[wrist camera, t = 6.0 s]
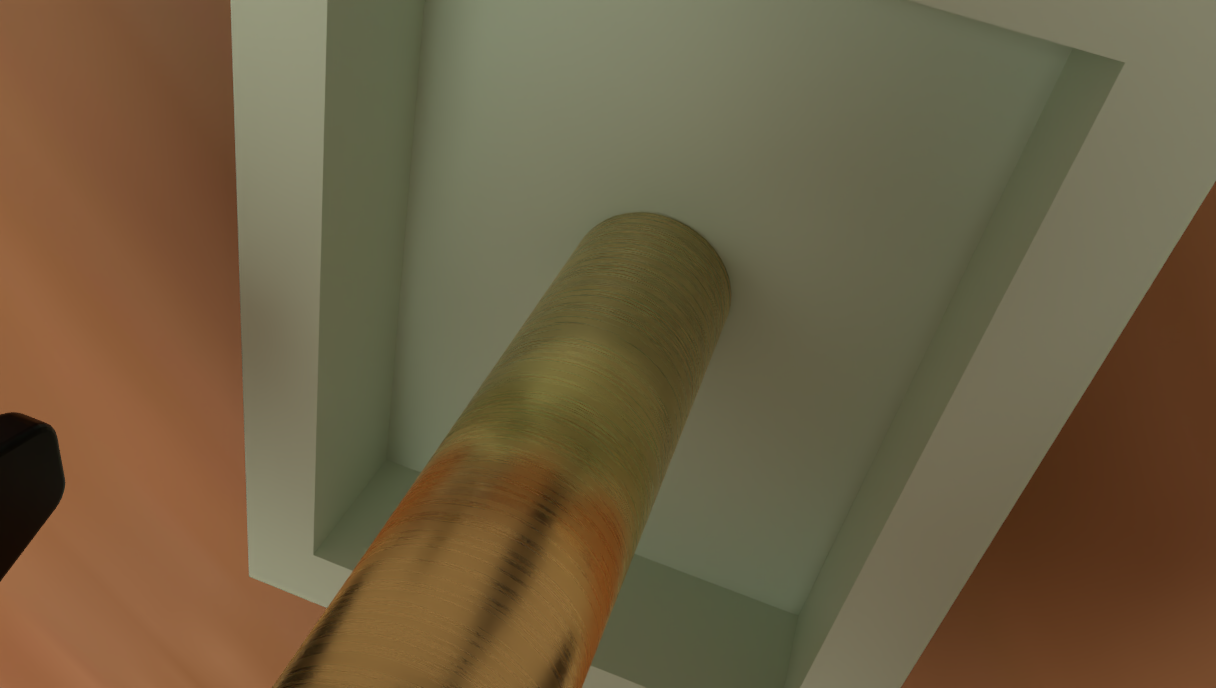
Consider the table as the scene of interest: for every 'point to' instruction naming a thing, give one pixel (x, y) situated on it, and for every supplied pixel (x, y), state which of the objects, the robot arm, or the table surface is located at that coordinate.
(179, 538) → the table surface
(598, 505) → the lock pin
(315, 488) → the tray
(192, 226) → the table surface
